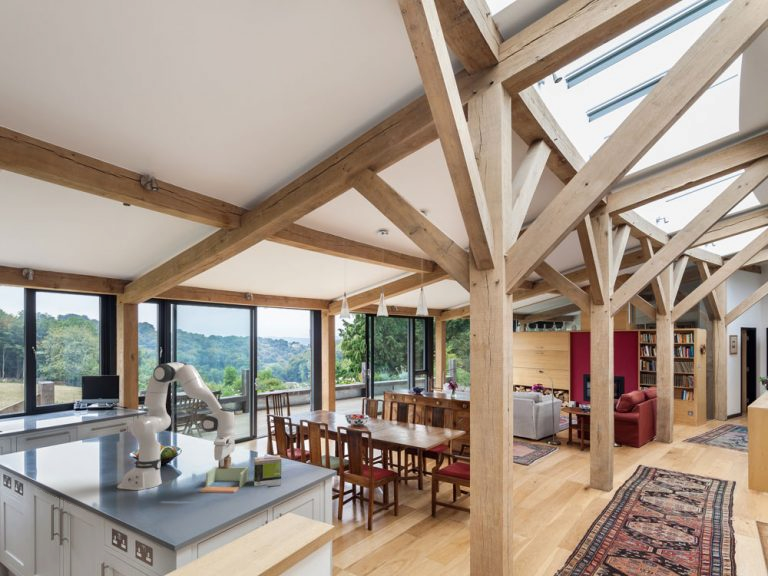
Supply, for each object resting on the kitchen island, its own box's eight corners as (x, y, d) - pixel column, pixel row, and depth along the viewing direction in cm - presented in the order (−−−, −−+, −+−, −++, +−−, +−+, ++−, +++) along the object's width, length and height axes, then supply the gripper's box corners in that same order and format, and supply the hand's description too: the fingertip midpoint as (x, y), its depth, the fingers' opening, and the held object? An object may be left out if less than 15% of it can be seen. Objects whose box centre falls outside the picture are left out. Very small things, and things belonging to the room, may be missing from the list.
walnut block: (218, 468, 238) (218, 459, 239) (221, 466, 243) (222, 456, 244) (227, 468, 238) (227, 459, 238) (230, 466, 243) (231, 456, 243)
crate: (205, 489, 244) (206, 473, 245) (214, 481, 256) (215, 466, 257) (241, 489, 244) (241, 473, 245) (248, 482, 256) (248, 467, 257)
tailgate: (205, 489, 243) (199, 492, 236) (205, 486, 243) (200, 490, 236) (239, 489, 243) (234, 493, 235) (239, 486, 243) (234, 490, 235)
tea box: (279, 480, 259) (280, 454, 261) (281, 485, 250) (282, 459, 252) (253, 482, 255) (254, 456, 256) (253, 488, 245) (254, 461, 247)
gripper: (227, 434, 253) (226, 459, 251) (212, 442, 232) (211, 469, 231) (237, 434, 252) (237, 459, 251) (224, 442, 232) (223, 469, 231)
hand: (224, 464), depth 241 cm, fingers closed on walnut block, 5 cm apart
